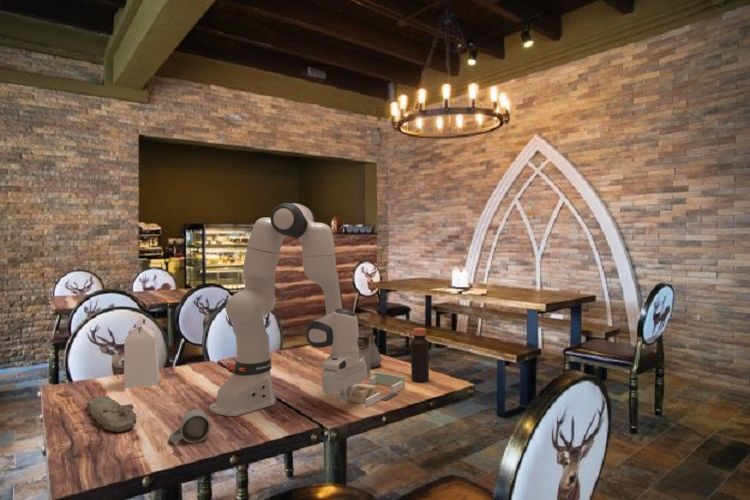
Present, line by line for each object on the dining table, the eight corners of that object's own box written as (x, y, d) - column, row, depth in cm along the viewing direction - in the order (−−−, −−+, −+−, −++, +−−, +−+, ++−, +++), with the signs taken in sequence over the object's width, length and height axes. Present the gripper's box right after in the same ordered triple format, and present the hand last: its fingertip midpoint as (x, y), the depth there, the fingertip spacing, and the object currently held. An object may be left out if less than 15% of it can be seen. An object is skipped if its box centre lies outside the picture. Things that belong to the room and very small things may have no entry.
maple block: (362, 404, 161) (362, 392, 161) (347, 401, 164) (347, 390, 164) (376, 397, 168) (376, 385, 168) (362, 394, 171) (362, 383, 171)
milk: (157, 387, 183) (155, 319, 182) (124, 391, 178) (121, 322, 178) (159, 378, 194) (157, 315, 193) (127, 382, 190) (125, 317, 189)
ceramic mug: (207, 429, 141) (206, 404, 141) (210, 440, 134) (209, 413, 133) (168, 437, 137) (167, 410, 136) (169, 448, 129) (168, 420, 129)
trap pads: (385, 401, 163) (385, 400, 163) (346, 392, 172) (346, 391, 172) (403, 391, 173) (403, 390, 173) (365, 383, 182) (365, 383, 182)
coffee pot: (387, 366, 206) (386, 332, 206) (364, 371, 200) (364, 335, 199) (360, 356, 224) (359, 325, 223) (339, 360, 217) (338, 328, 217)
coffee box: (346, 376, 192) (346, 337, 192) (349, 372, 199) (348, 333, 198) (369, 376, 192) (368, 337, 191) (371, 372, 198) (370, 333, 197)
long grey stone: (112, 404, 169) (80, 413, 162) (110, 389, 169) (78, 398, 162) (145, 426, 143) (108, 438, 137) (143, 409, 143) (106, 420, 137)
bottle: (430, 378, 188) (429, 327, 188) (427, 383, 182) (426, 331, 181) (413, 377, 190) (412, 327, 190) (409, 382, 184) (409, 330, 183)
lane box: (367, 407, 157) (367, 395, 157) (336, 400, 165) (336, 388, 165) (404, 387, 177) (404, 376, 177) (375, 382, 185) (375, 371, 184)
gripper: (356, 350, 168) (357, 389, 169) (318, 364, 152) (319, 407, 152) (371, 353, 165) (372, 392, 165) (333, 366, 148) (334, 411, 148)
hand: (346, 399), depth 158 cm, fingers closed
